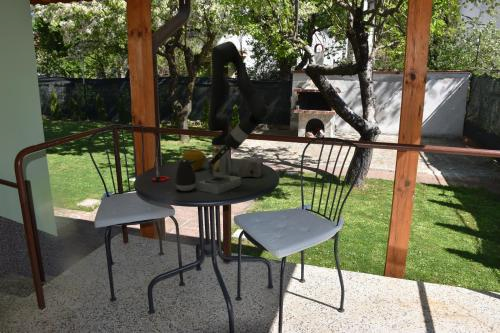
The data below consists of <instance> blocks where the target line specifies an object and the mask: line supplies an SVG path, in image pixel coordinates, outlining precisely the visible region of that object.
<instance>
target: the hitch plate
mask: <svg viewBox="0 0 500 333" xmlns="http://www.w3.org/2000/svg"><path fill="white" fill-rule="evenodd" d="M197 184H198V185H197V186H198V187H197V188H198V191H200V192H205V193H210V194H214V195H220V194H222V193H226V192H228V191H231V190H232V189H233V190H234V189H235V188H237V187H241V186H242V177H239V176H235V175H224V174H222V175H219V176H213V177H210V178H207V179H204V180H201V181H198V183H197Z"/></svg>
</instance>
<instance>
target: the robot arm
mask: <svg viewBox="0 0 500 333" xmlns="http://www.w3.org/2000/svg"><path fill="white" fill-rule="evenodd" d="M230 63H231V64H232V65H233V66H234V68H235V71H236V77H237V78H236V80H237V81H236V82H237V88H238V91H239V93H240V94H241V96H242V97H243V99H244V101H245V102H246V103H247V105H248V109H249V111H250V114H249V115H248V116H247V117H244V118H243V119H242V120H241V121H240V122H239V123H238V124H237V125H236V126H235V127H234V128H232V130H231V131H230V130H229V129H230V121H229V118H230V117H229V116H228V114H227V113H218V112H219V111H220V109H222V107H223V106H224V105H225V104H226V103H227V101H228V100H229V97H230V93H231V92H230V90H231V86H230V82H229V80H228V79H227V77H226V76H225V73H224V71H225V67H226V66H225V65H228V64H230ZM211 70H212V71H211V86H210V102H209V103H210V104H209V111H208V112H209V113H208V119H207V127H208V130H209V131H210V132H221V133H220V134H219V135H217V136H214V137H213V138H212V139H211V146H221V149H220V150H219V151H218V154H217V155H215V157H214V158H213V150H211V154H212V155H211V156H212V157H211V158H212V159H211V160H210V161H209V163H210V164H211V165H212V176H213V177H215V176H219V175H222V174H224V175H229V176H231V175H230V174H232V170H231V169H232V165H231V156H230V151H231V150H237V149H238V148H239V147H240V146H241V145H242V144H243V143H244V142H245V141H246V140H247V138H248V137H249V136H250V135H251V134H252V133H253V132H254V131H255V129H257V127H258V126H260V125H261V124H262V123H264V121H265V120H267V118H268V117H270V116H269V115H270V112H271V111H270V108H269V106H268V105H266V104H265V103H264V101H263V100H262V99H261V97H260V93H259V91H258V89H257V88H256V86H255V85H254V83H253V81H252V80H251V77H250V75H249V73H248V71H247V69H246V65H245V63H244V61H243V59H242V55H241V54H240V52H239V49H238V47H237V46H236V44H235V43H234V42H233V41H229V40H228V41H225V42H222V43H219V44H217V45H214V47H212V50H211ZM218 155H220V157H219V156H218ZM218 160H220V172H214V166H213V165H214V164H215V163H216V162H217V161H218Z"/></svg>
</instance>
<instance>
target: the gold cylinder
mask: <svg viewBox="0 0 500 333" xmlns="http://www.w3.org/2000/svg"><path fill="white" fill-rule="evenodd" d="M220 149H221V146H212V145H211V147H210V150H211V151H212V150H213V158H214V157H215V155H217V154H218V151H219V150H220ZM218 156H219V157H220V155H218ZM213 166H214V172H220V160H218V161H217V162H216V163H215V164H214V165H212V167H213Z"/></svg>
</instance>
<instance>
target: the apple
mask: <svg viewBox="0 0 500 333" xmlns="http://www.w3.org/2000/svg"><path fill="white" fill-rule="evenodd" d="M182 157H183V158H182V159H187V160H189V161H190V162H191V161H193V160H196V162H194V163H193V164H192V166H193V168H194V171H195V172H197V171H199V170H200V169H202V168H203V165H204V164H205V162H206V158H207V157H206V154H205V153H204V152H203V151H202V150H199V149H190V150H187V151H185V152H184V154H183V156H182Z"/></svg>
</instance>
